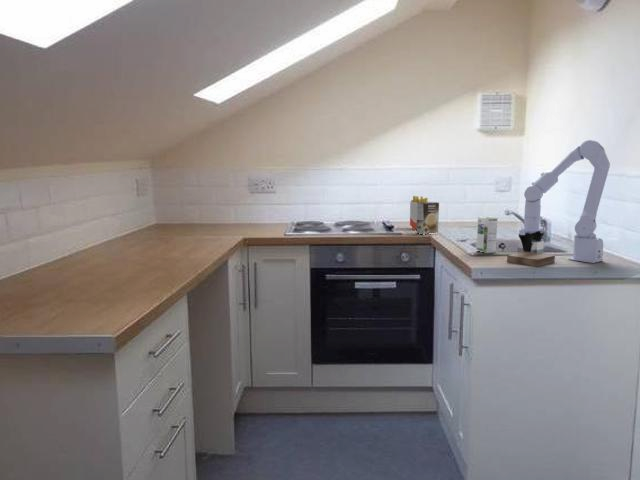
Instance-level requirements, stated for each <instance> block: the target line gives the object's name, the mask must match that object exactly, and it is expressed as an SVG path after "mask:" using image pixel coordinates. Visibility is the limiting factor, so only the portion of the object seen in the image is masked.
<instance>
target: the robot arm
mask: <svg viewBox="0 0 640 480" xmlns="http://www.w3.org/2000/svg"><path fill="white" fill-rule="evenodd" d="M581 160H588V161H589V163H590V164H591V165H592V166H593V173H592V177H591V180H590V184H589V187H588V192H587V195H586V198H585V203H584V206H583V209H582V212H581V214H580V218H579V219H578V221H577V222H576V223H575V225H574V232H575V233H574V237H573V254H572V257H568V258H567V259H568V260H571V261H576V262H585V263H592V264H595V263H599V262H602V261H603V260H604V258H603V252H604V240H603V239H602V238H599V237H597V235H596V233H594V232H595V231H596V229H597V223H596V222H597V221H596V219H597V214H598V210H599V206H600V202H601V200H602V195H603V191H604V189H605V185H606V181H607V177H608V173H609V171H610V167H611V164H610V161H609V158H608V156H607V153H606V150H605V148H604V147H603V146H602V145H601V143H600V142H599V141H596V140H592V139H589V140H585V141H584V142H582V143H581V144H580V145H578V146H577V147H576V148H574V149H573V150H571V151H570V152H569V154H567V155H566V156H565V157H564V158H563V159H562V160H561V161H560V162H559V163H558V164H557V165H556V166H555V167H554V168H553V169H552V170H546V171H545V172H544V171H543V172H541V174H540V177H539V178H537V180H535V181H533V182H532V183H531V185H530V186H528V187H527V188H526V189H525V191H524V194H523V195H524V198H525V205H524V214H523V215H524V217H523V218H524V220H523V221H524V222H523V226H522V227H521V229H519V230H518V231H519V232H518V238H519V240H521V242H522V246H523V250H524V251H526V252H530V249H531V243H532V240H540V241H542V239H543V237H544V236H545V235H544V234H545V233H544V226H540V225H541V207H542V206H541V200H542V198H543V196H544V194H546V193H547V192H548V191H549V190H551V189H552V187H554V186H555V185H556V184H557V183H558V182H559V177H560V175H562V174H563V173H564V172H565V171H566V170H567V169H568V168H570V167H571V166H573V164H575V163H576V162H579V161H581Z"/></svg>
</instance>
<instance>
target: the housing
mask: <svg viewBox="0 0 640 480" xmlns="http://www.w3.org/2000/svg"><path fill="white" fill-rule="evenodd" d="M544 246H545V241H544V240H541V241H540V240H532V243H531V249H530V252H533V253H540V254H544ZM519 252H524V250H523V246H522V242H521V240H520V239H518V240H517V253H519Z"/></svg>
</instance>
